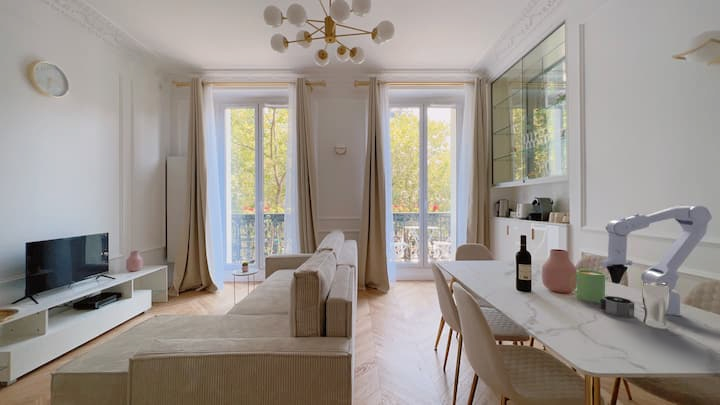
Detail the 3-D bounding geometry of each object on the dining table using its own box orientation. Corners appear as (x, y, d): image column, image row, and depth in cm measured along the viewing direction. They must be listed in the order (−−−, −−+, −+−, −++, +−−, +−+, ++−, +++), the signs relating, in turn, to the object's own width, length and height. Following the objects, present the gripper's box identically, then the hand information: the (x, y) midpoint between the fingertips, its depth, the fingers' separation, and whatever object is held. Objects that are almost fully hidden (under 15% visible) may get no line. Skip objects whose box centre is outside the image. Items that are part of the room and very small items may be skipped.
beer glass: (674, 330, 104) (674, 287, 104) (650, 328, 106) (651, 285, 106) (658, 322, 111) (659, 281, 111) (636, 320, 113) (637, 280, 112)
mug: (603, 297, 139) (603, 271, 139) (606, 304, 130) (606, 276, 130) (569, 292, 146) (569, 267, 146) (570, 298, 137) (570, 272, 137)
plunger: (624, 309, 122) (624, 297, 122) (632, 315, 116) (632, 303, 116) (603, 307, 125) (603, 295, 125) (610, 313, 118) (611, 301, 118)
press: (626, 310, 123) (626, 297, 123) (637, 318, 115) (638, 305, 114) (596, 307, 126) (596, 294, 126) (605, 315, 118) (605, 301, 118)
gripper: (619, 247, 131) (618, 279, 131) (593, 248, 127) (592, 281, 127) (638, 250, 124) (637, 284, 124) (611, 251, 120) (610, 286, 120)
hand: (615, 283), depth 125 cm, fingers closed
